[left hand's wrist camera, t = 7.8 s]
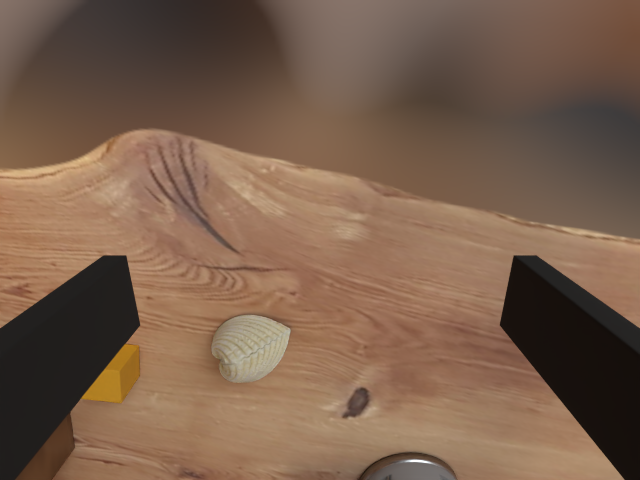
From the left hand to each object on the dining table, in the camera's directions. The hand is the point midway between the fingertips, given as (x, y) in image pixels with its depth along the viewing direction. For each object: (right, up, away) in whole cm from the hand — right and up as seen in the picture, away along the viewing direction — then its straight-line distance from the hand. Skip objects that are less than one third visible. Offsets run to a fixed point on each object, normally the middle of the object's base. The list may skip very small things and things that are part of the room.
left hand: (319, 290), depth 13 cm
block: (-26, -14, +35) cm, 46 cm away
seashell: (-9, -11, +34) cm, 37 cm away
